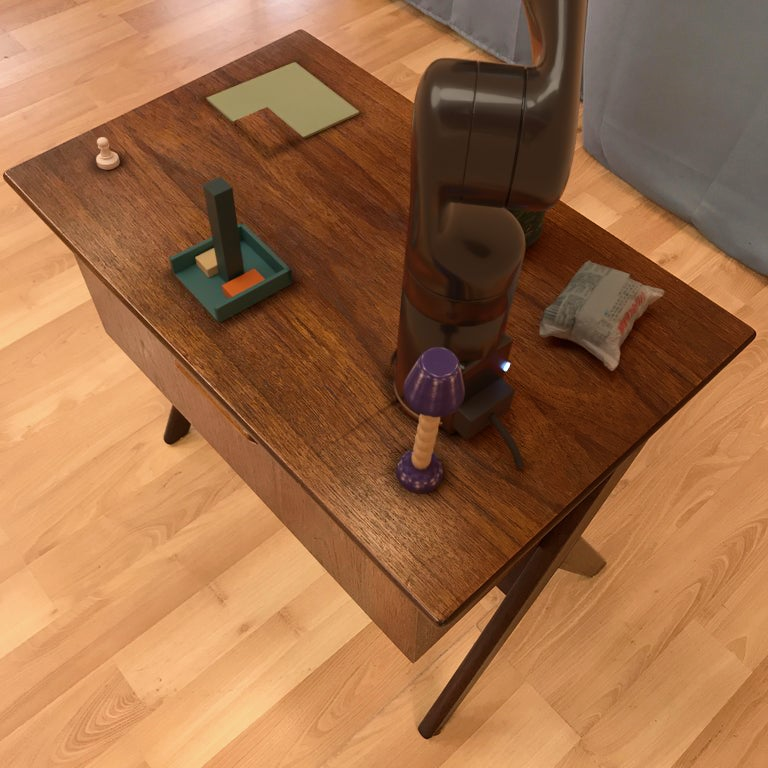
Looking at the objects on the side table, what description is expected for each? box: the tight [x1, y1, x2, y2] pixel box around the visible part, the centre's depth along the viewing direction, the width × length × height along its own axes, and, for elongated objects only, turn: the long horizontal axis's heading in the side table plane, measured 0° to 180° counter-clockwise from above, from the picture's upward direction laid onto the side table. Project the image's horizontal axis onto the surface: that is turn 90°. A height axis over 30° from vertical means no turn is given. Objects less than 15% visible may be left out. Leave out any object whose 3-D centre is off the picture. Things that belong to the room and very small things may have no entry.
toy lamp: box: [395, 347, 465, 494], centre depth 64 cm, size 5×5×17 cm
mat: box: [206, 61, 360, 139], centre depth 102 cm, size 14×14×1 cm
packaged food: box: [538, 260, 665, 372], centre depth 80 cm, size 9×12×5 cm
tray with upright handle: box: [168, 176, 293, 324], centre depth 79 cm, size 9×9×13 cm
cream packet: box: [195, 248, 219, 277], centre depth 84 cm, size 2×4×1 cm, turn 130°
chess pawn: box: [95, 136, 121, 171], centre depth 93 cm, size 3×3×4 cm
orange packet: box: [222, 269, 265, 299], centre depth 82 cm, size 2×4×1 cm, turn 130°
